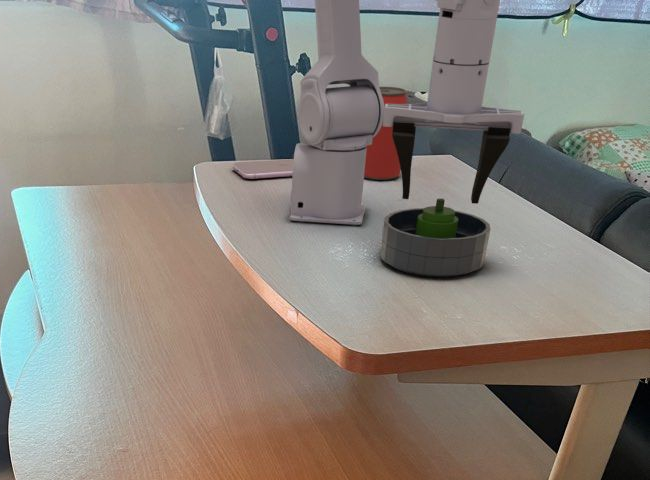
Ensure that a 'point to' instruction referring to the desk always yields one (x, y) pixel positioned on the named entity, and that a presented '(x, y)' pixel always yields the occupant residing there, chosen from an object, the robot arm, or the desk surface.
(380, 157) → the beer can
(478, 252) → the bowl
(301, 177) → the robot arm
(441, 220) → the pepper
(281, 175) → the mobile phone
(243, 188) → the desk surface
